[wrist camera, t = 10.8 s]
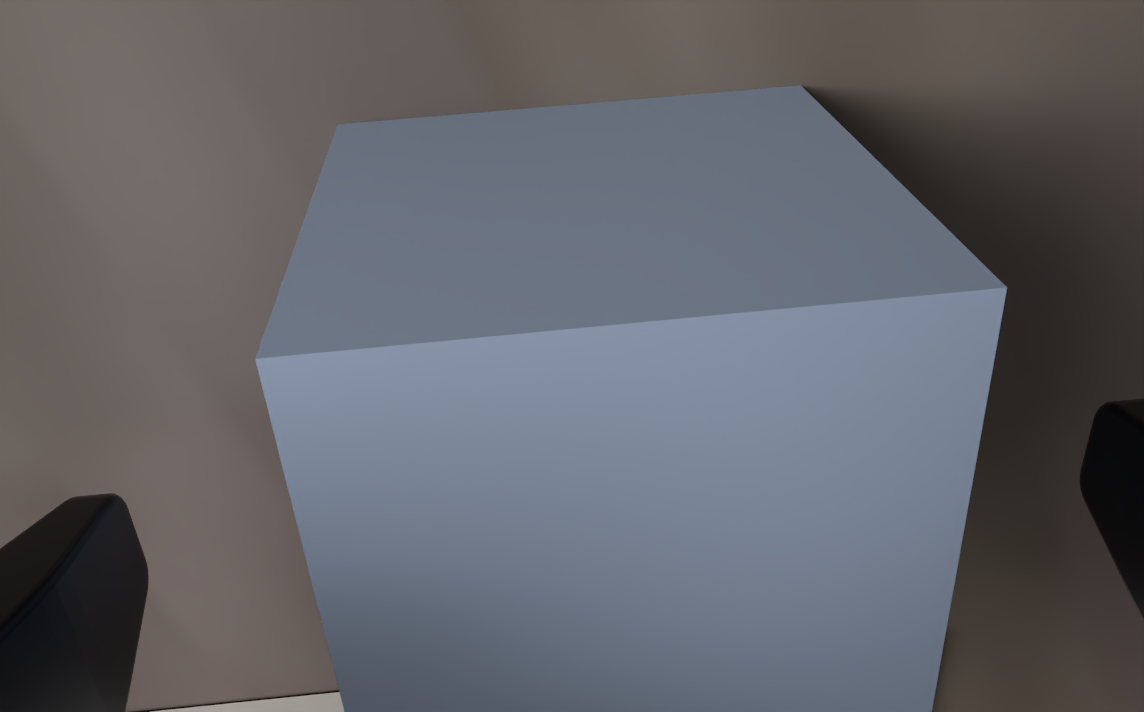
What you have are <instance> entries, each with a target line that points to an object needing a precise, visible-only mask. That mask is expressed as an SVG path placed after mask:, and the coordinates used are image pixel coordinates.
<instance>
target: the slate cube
mask: <svg viewBox="0 0 1144 712" xmlns="http://www.w3.org/2000/svg"><path fill="white" fill-rule="evenodd" d="M1006 292H1007V287H1006V286H1005V285H1004V284H1003V283H1002V282H1001V281H1000V280H999V279H998V278H997V277H996V276H995V275H994V274H993V273H992V272H991V271H990V270H989V269H988V268H987V267H986V266H985V265H984V264H983V263H982V262H981V261H980V260H979V259H978V258H977V257H976V256H974V255H973V254H972V253H971V252H970V251H969V250H968V249H967V248H966V247H965V246H964V245H963V244H962V243H961V242H960V241H959V240H958V239H957V238H956V237H955V236H954V235H953V234H952V233H951V232H950V231H949V230H948V229H947V228H946V227H945V226H944V225H943V224H942V223H941V222H940V221H939V220H938V219H937V218H936V217H935V216H934V215H933V214H932V213H931V212H930V211H929V210H928V209H926V208H925V207H924V206H923V205H922V204H921V203H920V202H919V201H918V200H917V199H916V198H915V197H914V196H913V195H912V194H911V193H910V192H909V191H908V190H907V189H906V188H905V187H904V186H903V185H902V184H901V183H900V182H899V181H898V180H897V179H896V178H895V177H894V176H893V175H892V174H891V173H890V172H889V171H888V170H887V169H886V168H885V167H884V166H883V165H882V164H881V163H880V162H878V161H877V160H876V159H875V158H874V157H873V156H872V155H871V154H870V153H869V152H868V151H867V150H866V149H865V148H864V147H863V146H862V145H861V144H860V143H859V142H858V141H857V140H856V139H855V138H854V137H853V136H852V135H851V134H850V133H849V132H848V131H847V130H846V129H845V128H844V127H843V126H842V125H841V124H840V123H839V122H838V121H837V120H836V119H835V118H834V117H833V116H832V115H830V114H829V113H828V112H827V111H826V110H825V109H824V108H823V107H822V106H821V105H820V104H819V103H818V102H817V101H816V100H815V99H814V98H813V97H812V96H811V95H810V94H809V93H808V92H807V91H806V90H805V89H804V88H803V87H802V86H789V87H777V88H765V89H753V90H741V91H729V92H718V93H706V94H694V95H682V96H670V97H658V98H646V99H634V100H622V101H611V102H599V103H587V104H575V105H563V106H551V107H539V108H527V109H516V110H504V111H492V112H480V113H468V114H456V115H444V116H432V117H420V118H409V119H397V120H385V121H373V122H361V123H349V124H338V125H337V128H336V131H335V134H334V137H333V139H332V142H331V145H330V148H329V151H328V154H327V156H326V159H325V162H324V165H323V168H322V171H321V173H320V176H319V179H318V182H317V185H316V188H315V190H314V193H313V196H312V199H311V202H310V205H309V207H308V210H307V213H306V216H305V219H304V222H303V225H302V227H301V230H300V233H299V236H298V239H297V242H296V244H295V247H294V250H293V253H292V256H291V259H290V261H289V264H288V267H287V270H286V273H285V276H284V278H283V281H282V284H281V287H280V290H279V293H278V295H277V298H276V301H275V304H274V307H273V310H272V312H271V315H270V318H269V321H268V324H267V327H266V329H265V332H264V335H263V338H262V341H261V344H260V346H259V349H258V352H257V355H256V358H255V360H256V364H257V368H258V372H259V376H260V380H261V384H262V388H263V392H264V396H265V400H266V404H267V408H268V412H269V416H270V420H271V424H272V427H273V431H274V435H275V439H276V443H277V447H278V451H279V455H280V459H281V463H282V467H283V471H284V475H285V479H286V483H287V487H288V491H289V495H290V499H291V503H292V506H293V510H294V514H295V518H296V522H297V526H298V530H299V534H300V538H301V542H302V546H303V550H304V554H305V558H306V562H307V566H308V570H309V574H310V578H311V582H312V585H313V589H314V593H315V597H316V601H317V605H318V609H319V613H320V617H321V621H322V625H323V629H324V633H325V637H326V641H327V645H328V649H329V653H330V657H331V661H332V664H333V668H334V672H335V676H336V680H337V684H338V688H339V692H340V696H341V700H342V704H343V708H344V712H932V707H933V702H934V696H935V690H936V685H937V679H938V673H939V668H940V662H941V657H942V651H943V645H944V640H945V634H946V629H947V623H948V617H949V612H950V606H951V600H952V595H953V589H954V584H955V578H956V572H957V567H958V561H959V556H960V550H961V544H962V539H963V533H964V527H965V522H966V516H967V511H968V505H969V499H970V494H971V488H972V483H973V477H974V471H975V466H976V460H977V454H978V449H979V443H980V438H981V432H982V426H983V421H984V415H985V410H986V404H987V398H988V393H989V387H990V381H991V376H992V370H993V365H994V359H995V353H996V348H997V342H998V337H999V331H1000V325H1001V320H1002V314H1003V308H1004V303H1005V297H1006Z"/></svg>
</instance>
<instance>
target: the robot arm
mask: <svg viewBox="0 0 1144 712" xmlns="http://www.w3.org/2000/svg"><path fill="white" fill-rule="evenodd" d="M1080 487H1081V492H1082V496H1083V498H1084V501H1085V503H1086V505H1087V507H1088V509H1089V511H1090V513H1091V515H1092V517H1093V519H1094V521H1095V523H1096V526H1097V528H1098V530H1099V532H1100V534H1101V536H1102V538H1103V540H1104V542H1105V544H1106V546H1107V548H1108V550H1109V552H1110V554H1111V556H1112V558H1113V560H1114V563H1115V565H1116V567H1117V569H1118V571H1119V573H1120V575H1121V577H1122V579H1123V581H1124V583H1125V585H1126V587H1127V589H1128V591H1129V593H1130V595H1131V597H1132V600H1133V602H1134V604H1135V606H1136V608H1137V610H1138V612H1139V614H1140V616H1141V618H1142V619H1143V621H1144V399H1134V400H1124V401H1113V402H1107V403H1105V404H1104V405H1102V406H1101V407H1100V408H1099V409H1098V411H1097V412H1096V414H1095V417H1094V420H1093V424H1092V428H1091V432H1090V436H1089V440H1088V443H1087V447H1086V451H1085V455H1084V459H1083V463H1082V467H1081V471H1080ZM148 579H149V578H148V568H147V563H146V559H145V556H144V553H143V551H142V548H141V545H140V542H139V539H138V536H137V533H136V530H135V527H134V525H133V522H132V519H131V516H130V513H129V510H128V508H127V505H126V503H125V502H124V500H123V499H122V498H121V497H120V496H118V495H116V494H112V493H110V494H99V495H88V496H78V497H73V498H70V499H68V500H66V501H65V502H63V503H62V504H61V505H59V506H58V507H57V508H55V509H54V510H53V511H51V512H50V513H48V514H47V515H46V516H44V517H43V518H42V519H40V520H39V521H37V522H36V523H35V524H33V525H32V526H31V527H29V528H28V529H27V530H25V531H24V532H22V533H21V534H20V535H18V536H17V537H16V538H14V539H13V540H11V541H10V542H9V543H7V544H6V545H5V546H3V547H2V548H1V549H0V712H126V707H127V702H128V696H129V691H130V685H131V680H132V674H133V669H134V663H135V658H136V652H137V647H138V641H139V636H140V630H141V625H142V619H143V613H144V608H145V602H146V597H147V591H148Z"/></svg>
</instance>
